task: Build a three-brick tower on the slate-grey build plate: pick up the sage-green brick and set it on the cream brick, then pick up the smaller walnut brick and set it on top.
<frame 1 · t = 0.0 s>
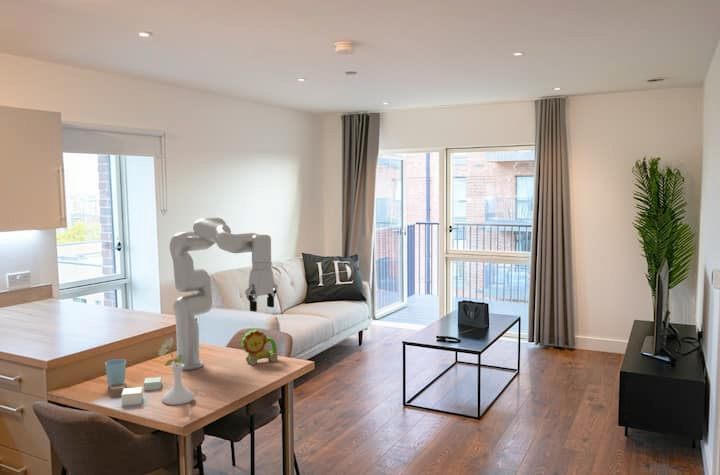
hand: (262, 309, 223), 31 cm above the table, tool pointing down, fingers open, 9 cm apart
sage brick: (152, 389, 221), on the table
flower in vase: (176, 403, 207), on the table
cream brick: (132, 401, 206), point 1 cm above the table, touching build plate
build plate: (132, 403, 206), on the table
toy lion: (259, 362, 256), on the table
walnut brick: (118, 396, 214), on the table
cup: (116, 388, 223), on the table
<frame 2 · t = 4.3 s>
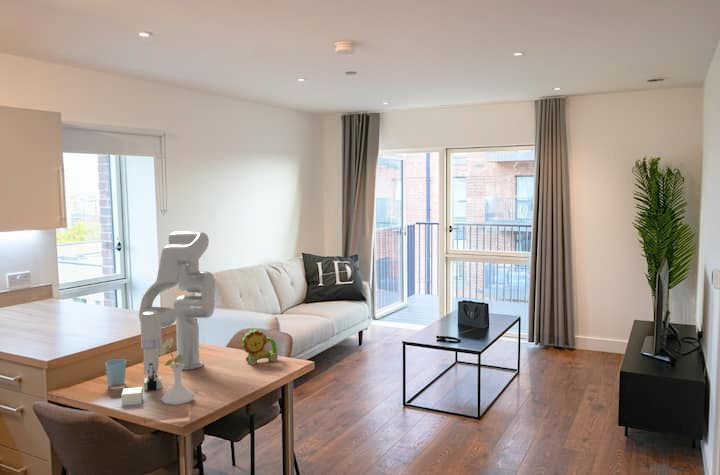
hand: (152, 387, 221), 1 cm above the table, tool pointing down, fingers closed on sage brick, 6 cm apart
sage brick: (152, 389, 221), on the table, touching gripper
everything else where it was.
when the fingers open (7 cm above the table, at t = 9.5 s): sage brick stays where it is, resting on cream brick.
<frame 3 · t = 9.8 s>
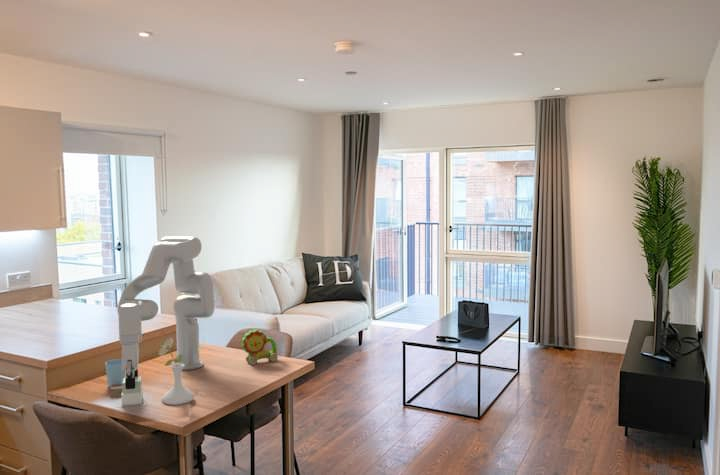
hand: (131, 384, 205), 7 cm above the table, tool pointing down, fingers open, 9 cm apart
sage brick: (132, 390, 206), point 5 cm above the table, touching cream brick
cream brick: (132, 401, 206), point 1 cm above the table, touching build plate, sage brick
everything else where it was.
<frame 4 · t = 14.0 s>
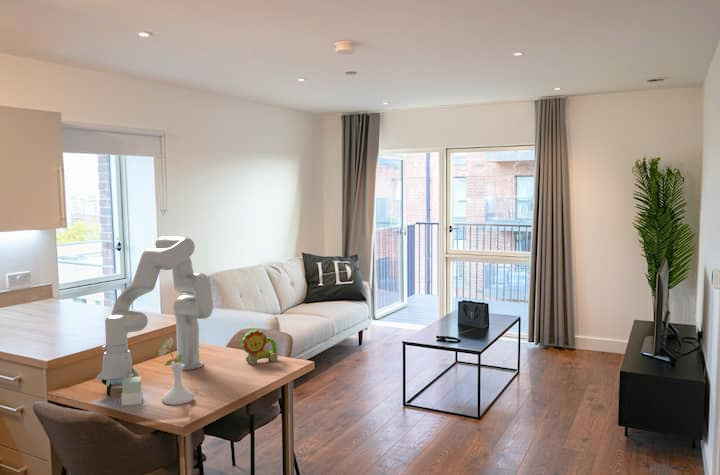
hand: (118, 394, 214), 1 cm above the table, tool pointing down, fingers closed on walnut brick, 5 cm apart
walnut brick: (118, 396, 214), on the table, touching gripper
everything else where it was.
when the fingers open (11 cm above the table, at t = 19.1 s): walnut brick stays where it is, resting on sage brick.
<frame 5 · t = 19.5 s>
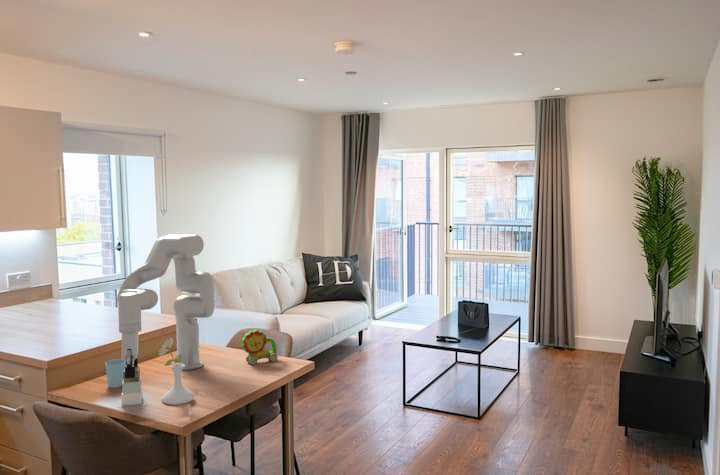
hand: (131, 373, 205), 11 cm above the table, tool pointing down, fingers open, 9 cm apart
sage brick: (132, 390, 206), point 5 cm above the table, touching cream brick, walnut brick
walnut brick: (131, 379, 205), point 9 cm above the table, touching sage brick
everything else where it was.
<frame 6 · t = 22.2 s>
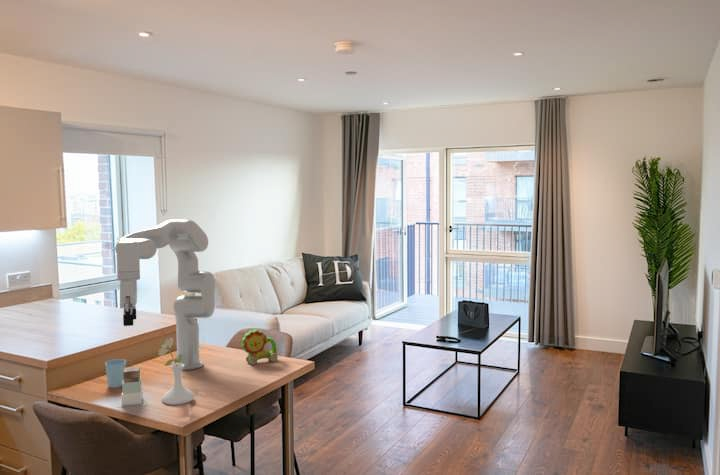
hand: (130, 322, 203), 30 cm above the table, tool pointing down, fingers open, 9 cm apart
nothing on the table moved.
at the end: sage brick 0.2 cm off-centre on the cream brick, point 4.0 cm above the cream brick's base; walnut brick 0.2 cm off-centre on the sage brick, point 4.0 cm above the sage brick's base; walnut brick tilted 0° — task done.
